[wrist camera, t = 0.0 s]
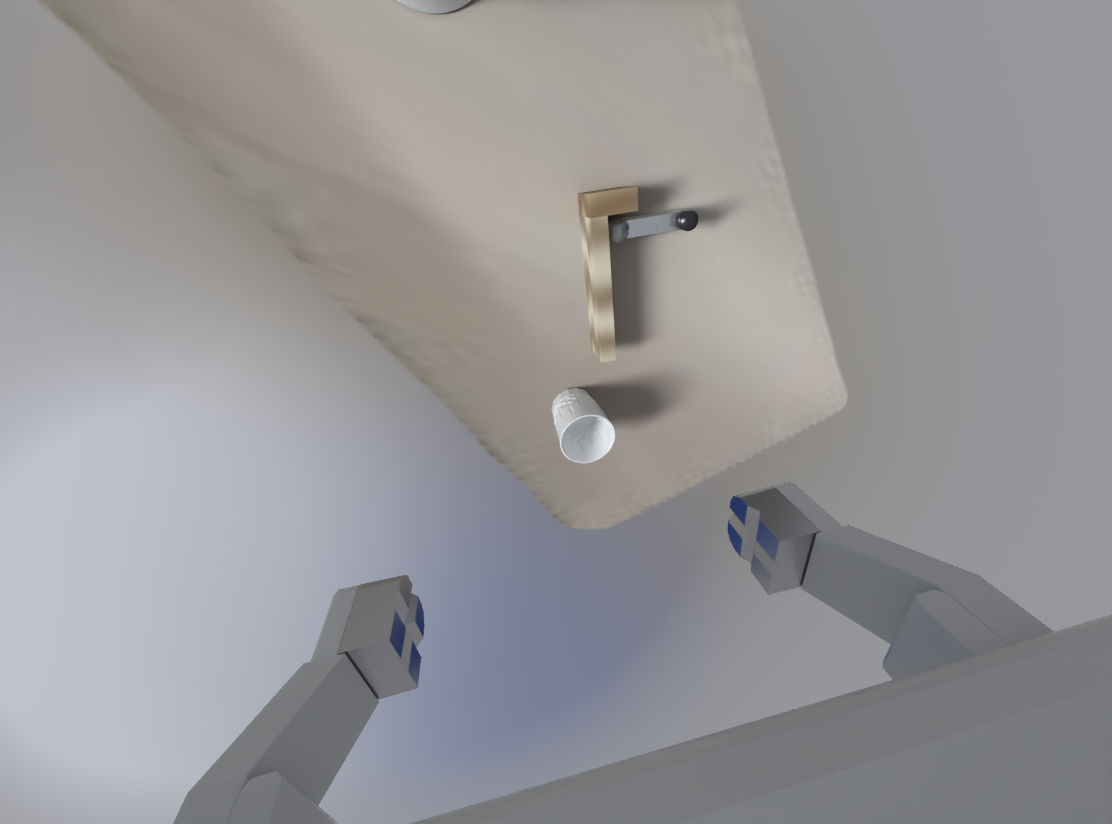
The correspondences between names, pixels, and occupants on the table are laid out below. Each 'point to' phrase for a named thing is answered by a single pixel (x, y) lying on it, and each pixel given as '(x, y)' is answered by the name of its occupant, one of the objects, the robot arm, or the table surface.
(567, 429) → the white cup
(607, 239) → the wooden l-bracket
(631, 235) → the crank handle
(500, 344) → the table surface
